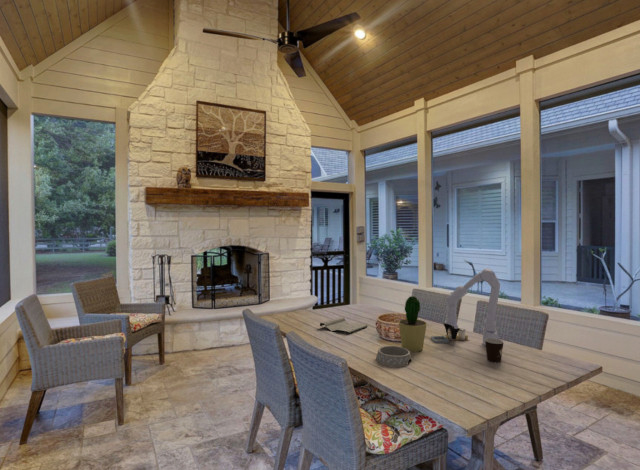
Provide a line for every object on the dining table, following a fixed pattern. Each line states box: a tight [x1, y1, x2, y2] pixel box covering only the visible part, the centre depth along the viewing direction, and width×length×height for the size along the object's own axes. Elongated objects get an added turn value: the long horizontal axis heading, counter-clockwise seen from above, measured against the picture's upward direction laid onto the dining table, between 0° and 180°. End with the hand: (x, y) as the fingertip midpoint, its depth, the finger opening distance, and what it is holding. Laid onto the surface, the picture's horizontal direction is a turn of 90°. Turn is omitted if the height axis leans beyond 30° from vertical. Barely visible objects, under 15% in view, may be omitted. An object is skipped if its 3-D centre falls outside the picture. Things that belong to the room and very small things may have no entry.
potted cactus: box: [398, 295, 428, 353], centre depth 212 cm, size 15×15×30 cm
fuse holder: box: [444, 334, 471, 342], centre depth 227 cm, size 7×14×3 cm, turn 93°
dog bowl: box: [375, 345, 413, 368], centre depth 194 cm, size 17×18×5 cm
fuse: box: [457, 327, 466, 340], centre depth 227 cm, size 4×4×6 cm
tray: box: [430, 335, 450, 344], centre depth 224 cm, size 8×8×2 cm
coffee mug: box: [485, 339, 505, 363], centre depth 194 cm, size 12×9×10 cm
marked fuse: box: [448, 328, 455, 340], centre depth 227 cm, size 4×4×6 cm
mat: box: [319, 316, 368, 335], centre depth 254 cm, size 23×24×5 cm
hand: (451, 337), depth 227 cm, fingers open, 7 cm apart
